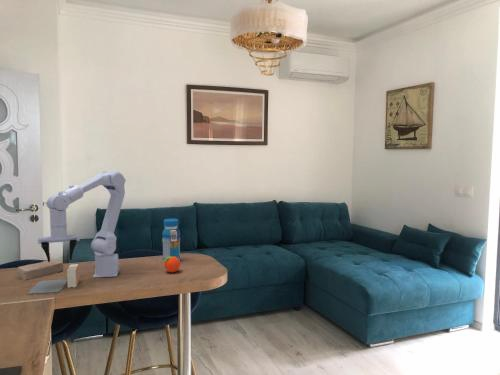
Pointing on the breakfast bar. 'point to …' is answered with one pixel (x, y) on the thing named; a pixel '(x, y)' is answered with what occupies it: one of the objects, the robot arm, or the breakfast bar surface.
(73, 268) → the slab
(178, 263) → the clementine
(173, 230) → the beverage bottle
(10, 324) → the breakfast bar surface
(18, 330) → the breakfast bar surface
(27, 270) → the brick
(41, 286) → the mat
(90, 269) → the breakfast bar surface
